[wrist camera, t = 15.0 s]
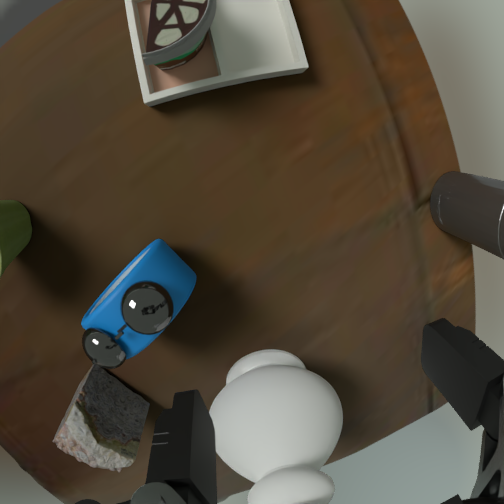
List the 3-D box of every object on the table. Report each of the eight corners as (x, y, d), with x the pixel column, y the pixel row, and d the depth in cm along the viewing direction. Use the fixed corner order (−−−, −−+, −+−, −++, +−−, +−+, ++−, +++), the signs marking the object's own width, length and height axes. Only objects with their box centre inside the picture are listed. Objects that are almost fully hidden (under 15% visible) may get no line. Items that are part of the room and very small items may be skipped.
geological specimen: (152, 397, 46) (137, 470, 32) (133, 414, 47) (116, 483, 33) (96, 359, 43) (63, 428, 29) (80, 379, 44) (49, 444, 30)
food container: (214, 81, 33) (212, 56, 23) (161, 82, 32) (141, 59, 23) (220, -7, 29) (220, -49, 20) (169, -5, 28) (156, -46, 19)
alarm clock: (168, 224, 38) (139, 268, 24) (202, 260, 40) (194, 321, 26) (102, 290, 40) (57, 352, 26) (135, 321, 42) (104, 392, 27)
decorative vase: (198, 342, 43) (188, 501, 20) (323, 324, 44) (398, 462, 21) (219, 425, 49) (225, 555, 25) (322, 409, 50) (367, 529, 26)
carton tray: (271, -28, 29) (275, -39, 26) (302, 73, 34) (308, 67, 31) (129, 2, 29) (123, -8, 26) (150, 106, 34) (144, 103, 31)
